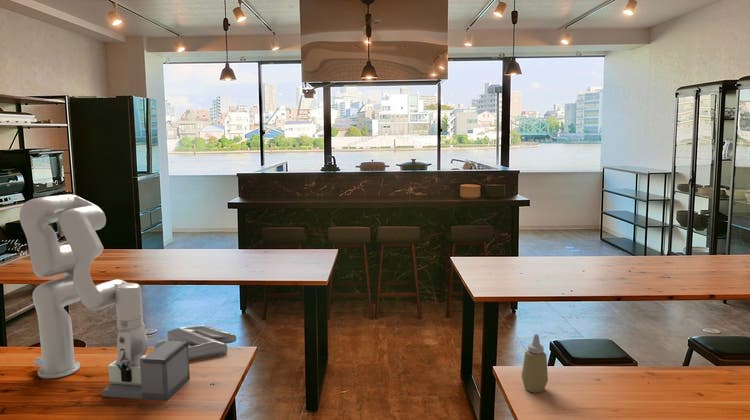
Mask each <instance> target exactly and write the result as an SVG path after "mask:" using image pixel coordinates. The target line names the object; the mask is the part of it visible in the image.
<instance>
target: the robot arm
mask: <svg viewBox="0 0 750 420" xmlns="http://www.w3.org/2000/svg"><path fill="white" fill-rule="evenodd" d="M19 222H20V225H21V228H22V230H23V232H24V235H25V238H26V240H27V246H28V251H29V252H28V253H29V257H30V261H31V267H32V270H33V273H34V274H35V276H37V278H41V279H43V278H49V277H50V278H51V277H54V276H59V275H62V274H63V277H60V278H59V277H58V278H54V279H52V280H47V281H45V282H43V283H40V284H39V285H37V286H36V287H35V288H34V290H33V291H32V301H33V304H34V307H35V311H36V315H37V322H38V330H39V332H38V333H39V341H40V342H39V343H40V351H41V356H36V357H35V359H34V361H33V363H32V365H33V366H39V369H38V370H37V376H38V377H39V378H42V379H57V378H62V377H66V376H69V375H72V374H74V373H75V372H77V371H78V370H80V368H81V363H80V361H78V360H76V359H75V348H74V337H73V336H74V334H73V325H72V324H73V323H72V318H71V315H70V314H69V312H67V310H66V309H65V307H66V306H68V305H72V304H74V303H77V302H80V301H81V303H82V304H83V305H84V306H85V308H87V309H88V310H90V311H98V310H101V309H104V308H107V307H110V306H113V305H115V307H116V308H115V311H116V313H115V314H116V326H117V337H116V338H117V339H116V353H117V354H116V355H117V357H116V358H117V359H116V360H115V361H116V363H115V364H116V365H117V366H118V368H119V369H120V370H121V381H122V382H131V381H132V375H131V369H130V365H131V362H133V361H135V360H136V359H137V358H139V357H140V356H141V355H146V352H147V351H148V349H149V348H148V346H149V345H148V337H147V329H146V327H145V323H144V315H143V298H142V297H143V296H142V294H143V293H142V287H141V285H140V284H139V283H135V282H128V281H125V280H123V279H117V278H116V279H112V280H109V281H105V282H101V283H98V284H95V283H94V281H93V279H92V276H91V274H90V273H91V272H90V271H91V266H92V263H93V261H94V260H95V259H96V258H97V257H99V256H100V255H101V254H102V253H103V252H104V246H103V244H102V242H101V239H100V237H99V235H98V234H97V232H96V231H98V230H101V229H102V228H104V227H105V226H106V223H107V217H106V215H105V212H104V211H103V210H102V208H100V207H99V206H98V205H97V204H94V203H93V202H90V201H89V200H86V199H84V198H82V197H80V196H78V195H75V194H71V193H70V194H66V193H65V194H58V195H47V196H41V197H37V198H32V199H29V200H27V201H26V202H24V203H23V204H22V205H21V207H20V211H19ZM53 222H58V225H59V227H60V230H61V231H62V234H63V236H64V237H65V239H66V241H67V243H68V244H67V243H65V244H61V245H59V241H58V235H57V233H56V231H55V230H54V228H53V227H52V226H51V225H50V224H49V223H53ZM125 358H127V360H124V359H125ZM124 362H127V366H126V365H125V364H124Z"/></svg>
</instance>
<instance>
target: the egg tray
mask: <svg viewBox="0 0 750 420" xmlns="http://www.w3.org/2000/svg"><path fill="white" fill-rule="evenodd" d="M146 356H147V355H146V354H145V355H141V356H140V357H139V358H137V359H136V360H135V361H133V362H131V365H130V369H131V375H132V381H131V382H122V381H121V370H120V369H119V368H118V366H117V365H116V364H115V363H116V360H114V361H113V362H111V363H110V364H109V365H107V368H108V380H109V381H108V384H109V385H110V384H122V385H137V386H142V385H141V370H140V358H141V357H146ZM124 360H127V358H125V359H124ZM124 364H125V365H126V366H127V362H124Z"/></svg>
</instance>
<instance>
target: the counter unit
mask: <svg viewBox="0 0 750 420" xmlns="http://www.w3.org/2000/svg"><path fill="white" fill-rule="evenodd" d="M162 342H163V344H162V345H161V346H159V347H158V348H157V349H155V348H154V350H152V351H150V353H149V354H147V355H146V357H141V358H140V370H141V385H142V386H137V385H122V384H109V385H107V386H106V387H105V388H104V389H102V397H105V398H107V397H109V398H123V399H135V400H136V399H137V400H153V401H168V400H169V399H170V398H172V396H173V395H174V394H175V393H176V392H178V391H179V390H180V389H181V388H182V387H183V386H184V385H185V384H186V383H187V382H188V381H189V380H190V379H191V377H190V376H191V375H190V360H189V353H188V341H174V340H168V339H164V340H163V341H162Z"/></svg>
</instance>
